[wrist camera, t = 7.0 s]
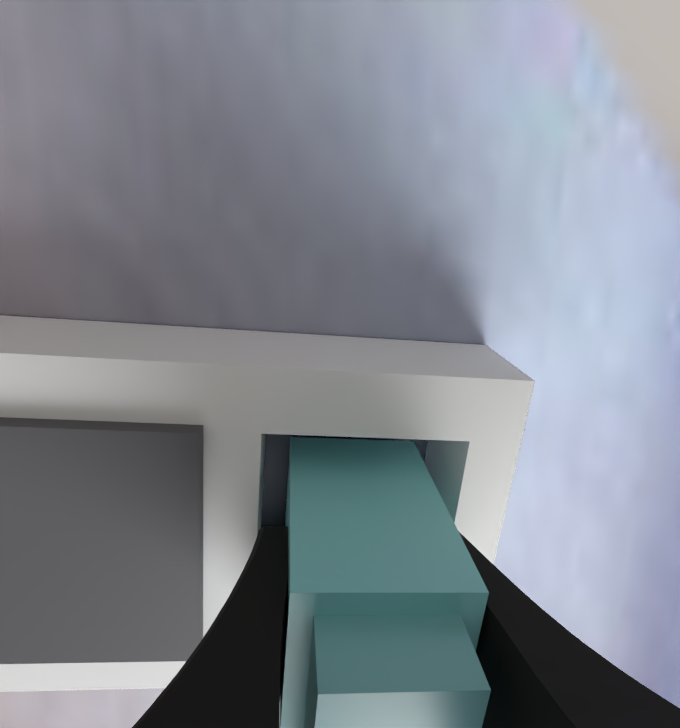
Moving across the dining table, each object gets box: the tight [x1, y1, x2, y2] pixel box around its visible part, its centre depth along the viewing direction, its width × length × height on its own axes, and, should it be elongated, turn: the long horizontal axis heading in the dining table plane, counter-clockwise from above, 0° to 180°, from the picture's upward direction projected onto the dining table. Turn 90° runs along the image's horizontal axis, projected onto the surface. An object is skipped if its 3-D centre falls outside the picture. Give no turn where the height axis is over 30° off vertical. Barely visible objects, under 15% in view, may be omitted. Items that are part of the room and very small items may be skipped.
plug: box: [279, 437, 491, 728], centre depth 10 cm, size 3×4×6 cm
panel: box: [0, 315, 535, 692], centre depth 12 cm, size 13×9×3 cm
